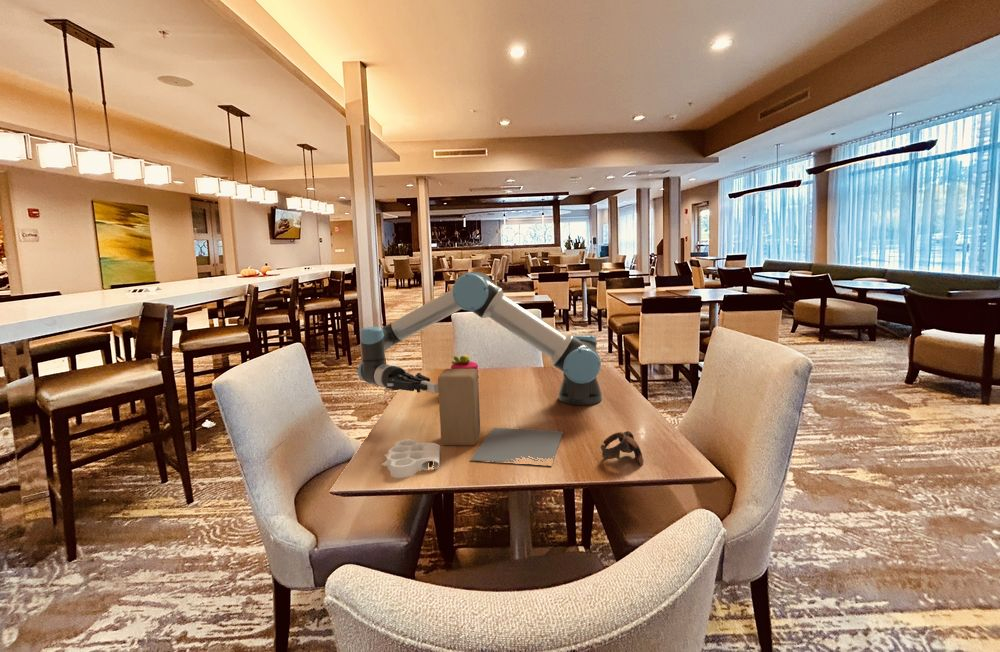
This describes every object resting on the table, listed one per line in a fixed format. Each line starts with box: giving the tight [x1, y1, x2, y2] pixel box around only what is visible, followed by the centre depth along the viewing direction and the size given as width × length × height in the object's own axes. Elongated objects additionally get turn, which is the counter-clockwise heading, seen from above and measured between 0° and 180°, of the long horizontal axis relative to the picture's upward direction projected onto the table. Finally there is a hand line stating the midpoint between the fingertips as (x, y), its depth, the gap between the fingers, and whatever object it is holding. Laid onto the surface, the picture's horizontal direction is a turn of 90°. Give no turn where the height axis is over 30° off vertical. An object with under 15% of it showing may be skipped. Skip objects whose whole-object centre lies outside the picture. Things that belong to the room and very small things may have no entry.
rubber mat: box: [470, 427, 564, 462], centre depth 139 cm, size 21×24×1 cm
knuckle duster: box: [380, 438, 441, 479], centre depth 131 cm, size 3×18×15 cm
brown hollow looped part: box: [600, 430, 645, 467], centre depth 128 cm, size 12×10×8 cm
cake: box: [450, 354, 480, 386], centre depth 194 cm, size 10×11×15 cm
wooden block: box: [437, 368, 481, 446], centre depth 144 cm, size 10×10×20 cm
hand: (436, 388), depth 150 cm, fingers closed
